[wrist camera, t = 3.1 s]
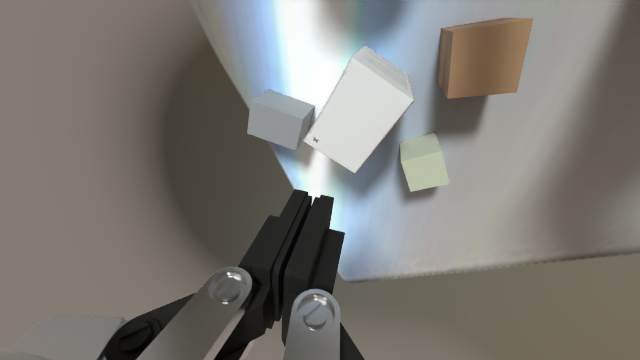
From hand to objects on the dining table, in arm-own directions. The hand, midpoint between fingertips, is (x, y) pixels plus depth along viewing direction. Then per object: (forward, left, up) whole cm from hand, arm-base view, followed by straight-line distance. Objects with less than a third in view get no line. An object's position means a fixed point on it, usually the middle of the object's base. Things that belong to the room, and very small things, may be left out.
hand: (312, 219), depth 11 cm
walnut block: (-9, -5, -22) cm, 24 cm away
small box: (0, 0, -22) cm, 22 cm away
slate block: (+9, +4, -22) cm, 24 cm away
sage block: (-8, +6, -22) cm, 24 cm away
